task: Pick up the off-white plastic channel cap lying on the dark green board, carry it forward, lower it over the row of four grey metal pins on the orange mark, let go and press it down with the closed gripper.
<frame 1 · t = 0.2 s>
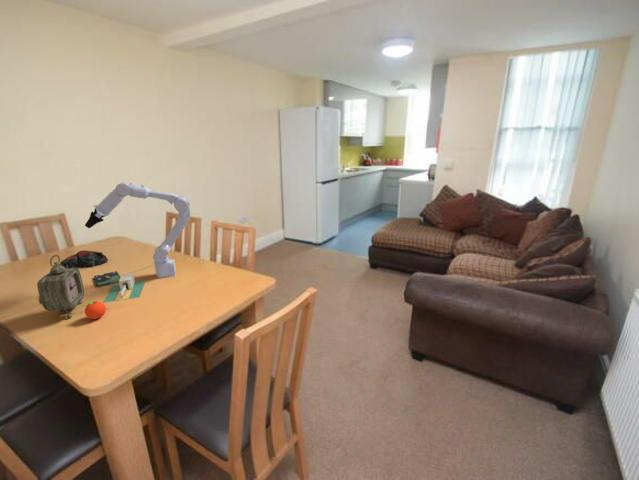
hand: (88, 224, 144), 31 cm above the table, tool tilted 45°, fingers open, 7 cm apart
channel cap: (128, 286, 150), point 1 cm above the table, touching pin board
tabletop clock: (67, 312, 128), on the table
pin board: (126, 292, 145), on the table
disk drive: (108, 282, 157), on the table
clementine: (95, 318, 124), on the table
drone shell: (85, 264, 181), on the table
phone: (51, 296, 143), on the table
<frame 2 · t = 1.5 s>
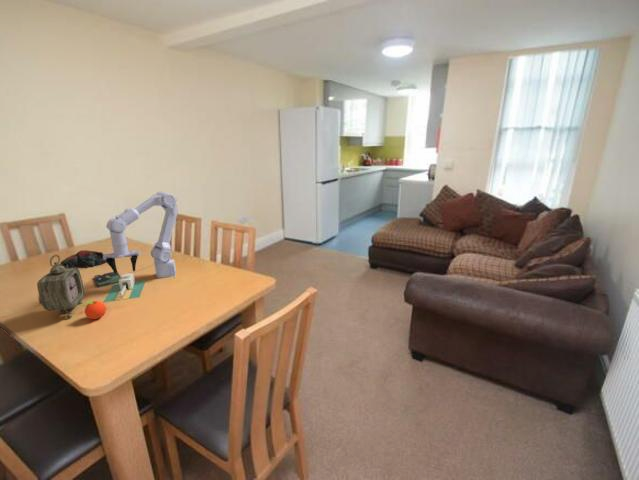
hand: (125, 271, 147), 9 cm above the table, tool pointing down, fingers open, 7 cm apart
nothing on the table moved.
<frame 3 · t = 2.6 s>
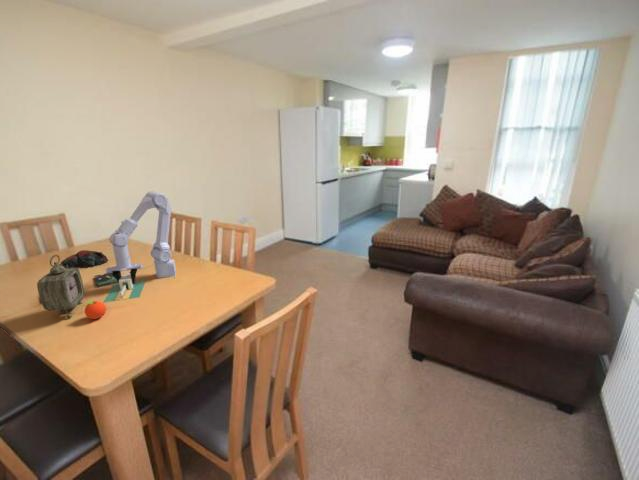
hand: (127, 284, 149), 2 cm above the table, tool pointing down, fingers closed on channel cap, 5 cm apart
channel cap: (128, 286, 150), point 1 cm above the table, touching gripper, pin board
everything else where it was.
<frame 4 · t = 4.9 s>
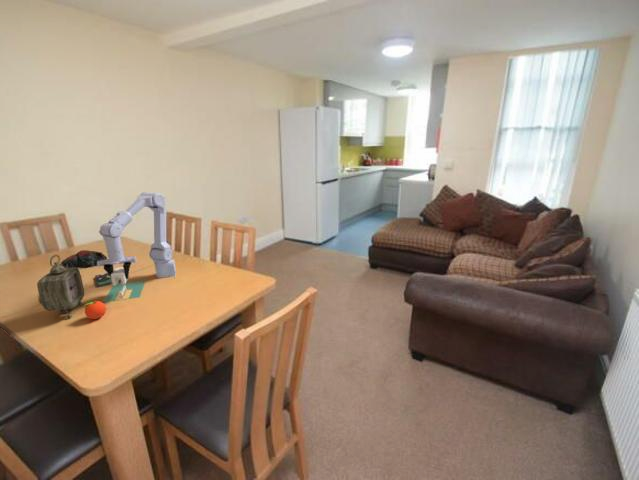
hand: (120, 278, 139), 9 cm above the table, tool pointing down, fingers closed on channel cap, 5 cm apart
channel cap: (121, 281, 139), point 8 cm above the table, touching gripper
everything else where it was.
when the fingers open (2 cm above the table, at t = 7.5 s): channel cap stays where it is, resting on pin board.
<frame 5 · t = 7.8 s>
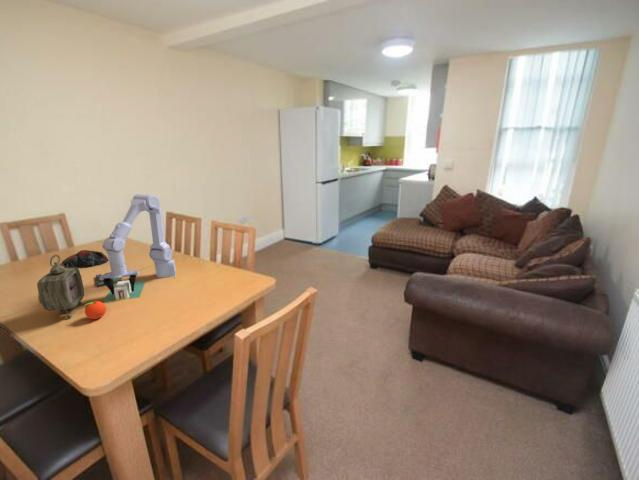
hand: (123, 292, 141), 2 cm above the table, tool pointing down, fingers open, 7 cm apart
channel cap: (123, 294, 141), point 1 cm above the table, touching pin board
everything else where it was.
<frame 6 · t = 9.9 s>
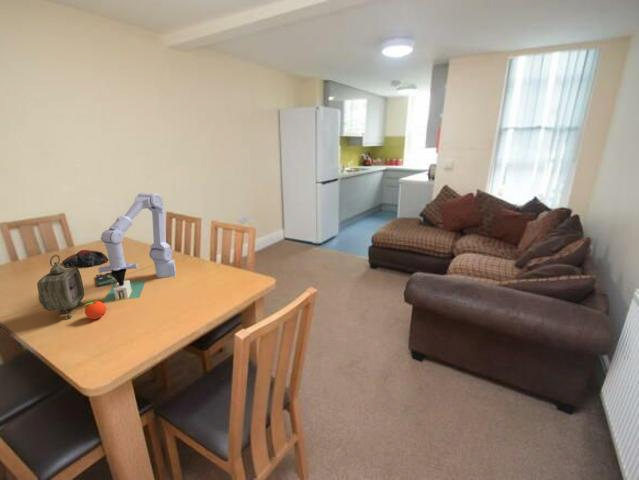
hand: (121, 284, 140), 6 cm above the table, tool pointing down, fingers closed, pressing on channel cap
channel cap: (123, 294, 141), point 1 cm above the table, touching gripper, pin board
everything else where it was.
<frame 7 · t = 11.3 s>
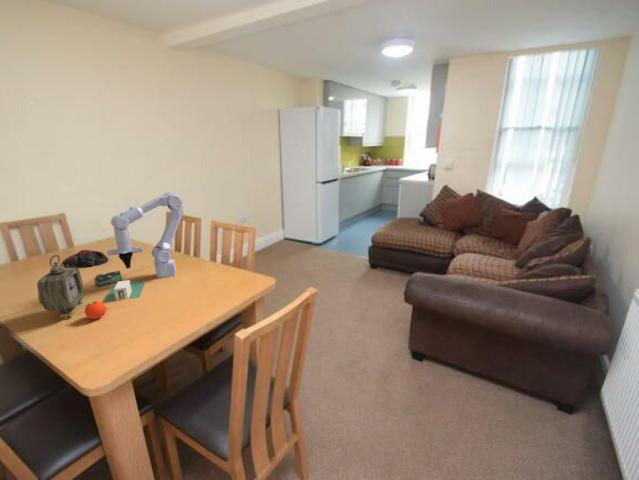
hand: (128, 267, 150), 9 cm above the table, tool pointing down, fingers closed
channel cap: (123, 294, 141), point 1 cm above the table, touching pin board
everything else where it was.
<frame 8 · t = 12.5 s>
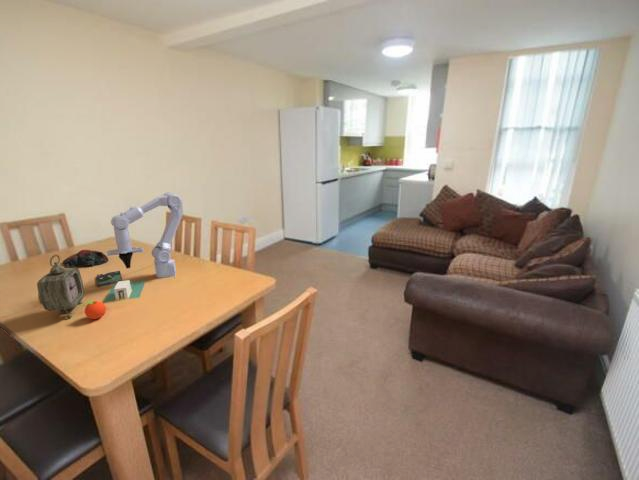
hand: (128, 267, 150), 9 cm above the table, tool pointing down, fingers closed
at the end: channel cap 0.1 cm from the target spot on the pin board, point 1.1 cm above the pin board's base; channel cap tilted 0°; the gripper is holding nothing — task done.
